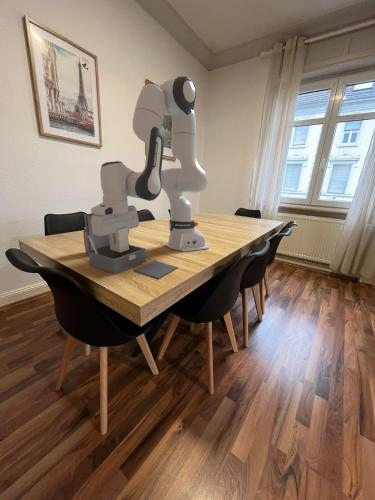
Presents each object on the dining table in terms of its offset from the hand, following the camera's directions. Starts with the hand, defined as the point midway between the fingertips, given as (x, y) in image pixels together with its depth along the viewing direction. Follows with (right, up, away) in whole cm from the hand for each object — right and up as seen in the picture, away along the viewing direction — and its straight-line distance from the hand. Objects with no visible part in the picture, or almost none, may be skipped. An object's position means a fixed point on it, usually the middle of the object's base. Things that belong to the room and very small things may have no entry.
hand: (119, 242), depth 83 cm
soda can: (-16, -5, +12) cm, 20 cm away
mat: (+16, -11, -3) cm, 19 cm away
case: (-1, -8, +2) cm, 9 cm away
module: (0, -3, +1) cm, 3 cm away
